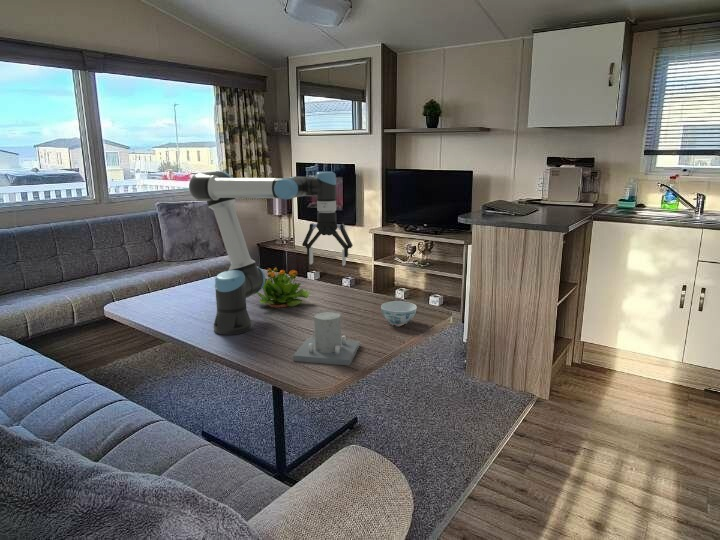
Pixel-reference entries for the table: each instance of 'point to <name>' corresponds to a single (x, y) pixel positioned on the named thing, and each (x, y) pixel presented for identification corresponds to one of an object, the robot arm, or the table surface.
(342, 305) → the table surface
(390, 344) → the table surface
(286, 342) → the table surface
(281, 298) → the potted flower
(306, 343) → the stub board
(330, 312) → the grey marbled cylinder
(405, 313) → the chinaware
